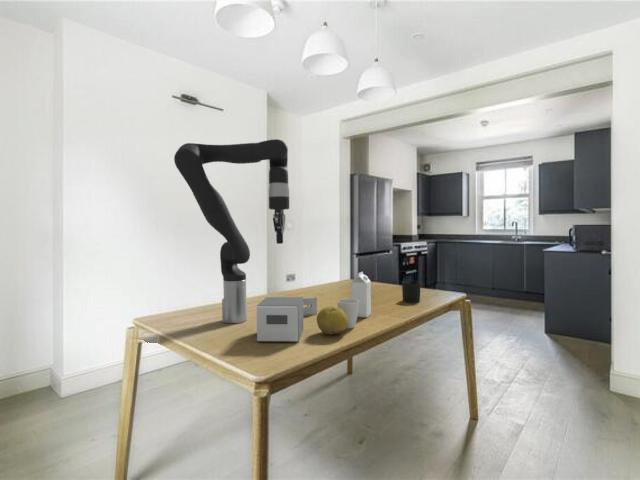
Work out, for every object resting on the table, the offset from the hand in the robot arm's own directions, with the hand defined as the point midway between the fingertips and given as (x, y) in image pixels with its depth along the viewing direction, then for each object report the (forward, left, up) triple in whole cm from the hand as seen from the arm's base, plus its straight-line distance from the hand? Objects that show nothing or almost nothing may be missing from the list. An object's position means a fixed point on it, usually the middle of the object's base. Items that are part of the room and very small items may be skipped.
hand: (279, 243), depth 130 cm
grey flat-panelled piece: (+1, -5, -32) cm, 33 cm away
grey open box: (+1, -4, -33) cm, 33 cm away
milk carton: (+31, +26, -33) cm, 52 cm away
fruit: (+19, -2, -33) cm, 38 cm away
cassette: (+6, +26, -33) cm, 43 cm away
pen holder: (+59, +58, -33) cm, 89 cm away
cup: (+25, +8, -33) cm, 42 cm away
